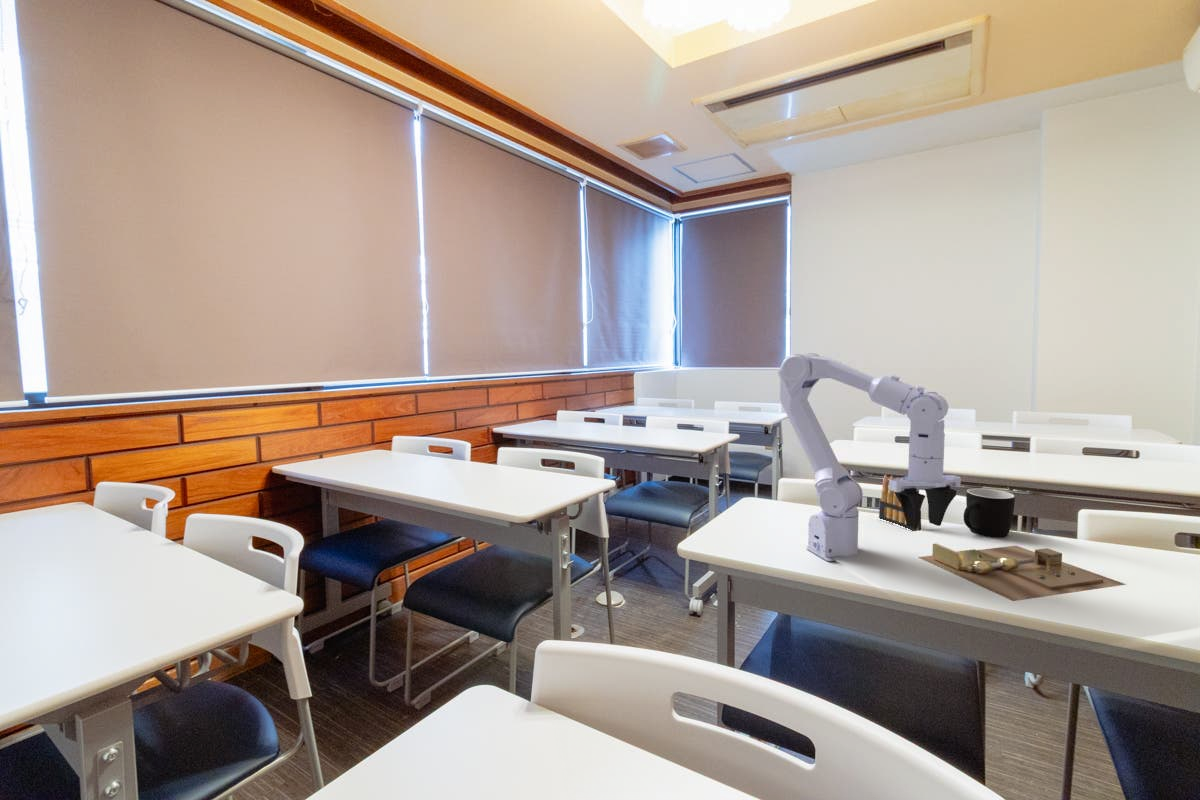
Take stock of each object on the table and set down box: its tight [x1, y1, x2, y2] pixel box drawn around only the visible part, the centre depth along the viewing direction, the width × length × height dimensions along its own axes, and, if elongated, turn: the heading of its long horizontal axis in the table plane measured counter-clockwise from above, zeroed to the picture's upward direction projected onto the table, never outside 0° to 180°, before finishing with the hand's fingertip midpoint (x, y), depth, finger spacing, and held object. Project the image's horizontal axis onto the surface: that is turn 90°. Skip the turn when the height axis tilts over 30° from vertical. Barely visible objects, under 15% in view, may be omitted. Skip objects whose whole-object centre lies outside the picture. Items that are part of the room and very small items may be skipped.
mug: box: [963, 487, 1016, 539], centre depth 122 cm, size 12×9×10 cm
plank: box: [918, 545, 1126, 602], centre depth 102 cm, size 25×20×1 cm
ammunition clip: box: [878, 473, 922, 532], centre depth 131 cm, size 11×2×12 cm, turn 19°
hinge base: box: [1012, 547, 1103, 590], centre depth 99 cm, size 12×10×3 cm
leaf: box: [931, 542, 1034, 574], centre depth 105 cm, size 15×10×3 cm, turn 103°
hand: (923, 525), depth 102 cm, fingers open, 5 cm apart
